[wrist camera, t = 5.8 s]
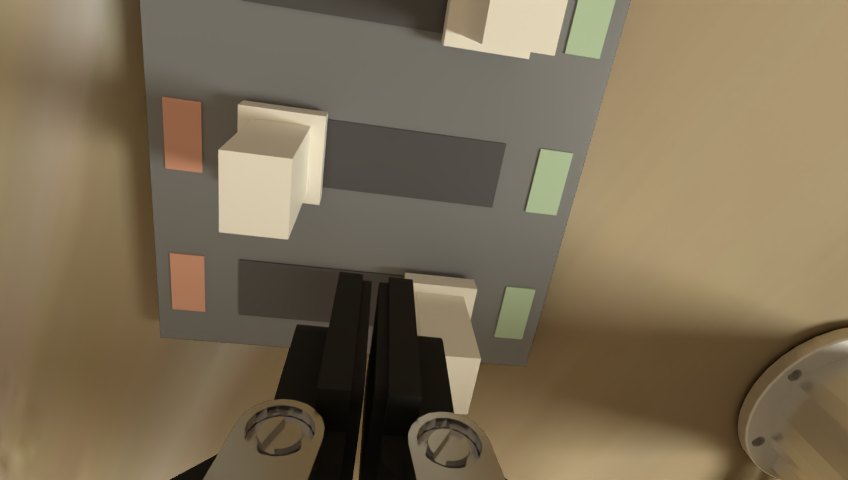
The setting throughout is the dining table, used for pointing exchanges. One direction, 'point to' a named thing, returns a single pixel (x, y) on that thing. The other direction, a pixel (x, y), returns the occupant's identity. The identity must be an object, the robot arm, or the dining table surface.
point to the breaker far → (450, 329)
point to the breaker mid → (270, 169)
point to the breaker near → (504, 26)
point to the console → (368, 159)
